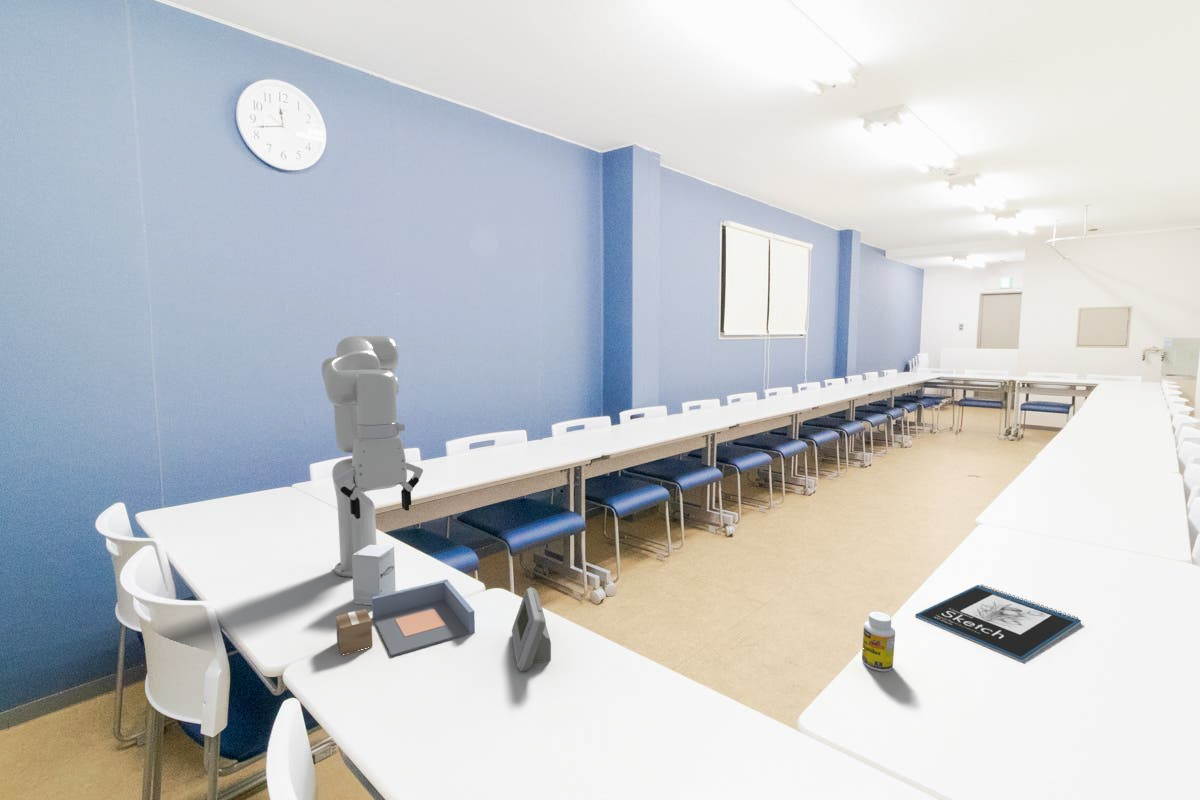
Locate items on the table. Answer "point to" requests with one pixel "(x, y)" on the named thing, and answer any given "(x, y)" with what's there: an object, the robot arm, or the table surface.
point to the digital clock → (530, 632)
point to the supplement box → (373, 573)
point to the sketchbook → (1000, 621)
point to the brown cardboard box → (354, 631)
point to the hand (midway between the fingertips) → (381, 513)
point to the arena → (422, 616)
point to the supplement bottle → (878, 642)
